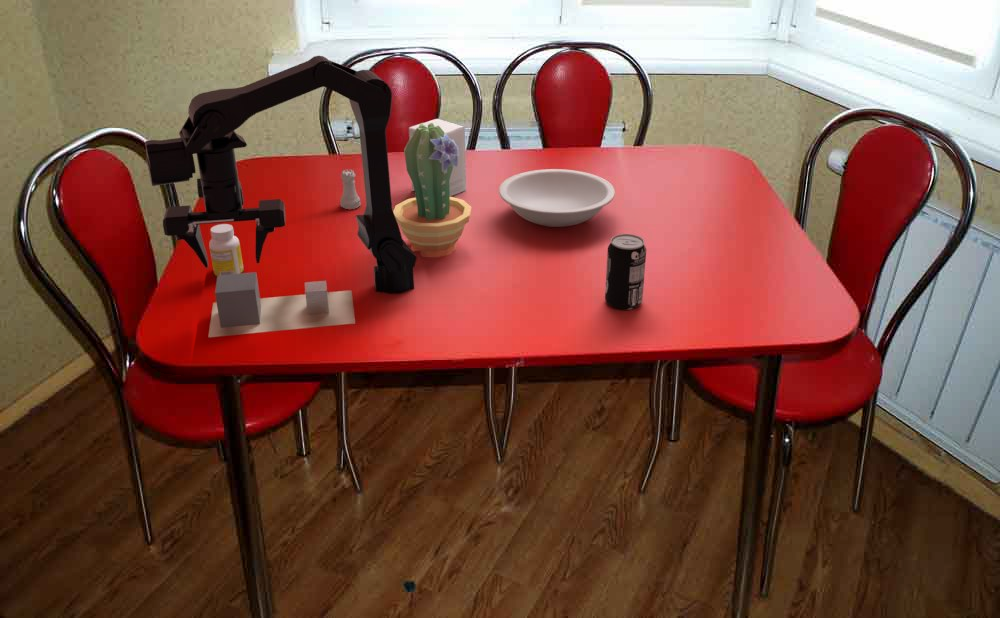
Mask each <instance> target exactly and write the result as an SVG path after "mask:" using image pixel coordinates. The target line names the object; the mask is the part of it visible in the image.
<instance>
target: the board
mask: <svg viewBox="0 0 1000 618" xmlns="http://www.w3.org/2000/svg"><path fill="white" fill-rule="evenodd" d="M327 294H328V304H329V314H318V315H308V312H307V303H306V295H305V293H304V294H294V295H285V296H274V297H263V298H261V297H260V302H261V315H260V324H256V325H245V326H235V327H224V328H221V326H220V320H219V314H218V308H217V302H216V301H215V302H212V309H211V317H210V322H209V329H208V338H216V337H218V338H219V337H226V336H227V337H228V336H237V335H246V334H256V333H257V334H259V333H269V332H279V331H281V332H282V331H288V330H290V331H291V330H298V329H299V330H301V329H311V328H320V327H321V328H322V327H331V326H332V327H333V326H341V325H353V324H354V325H355V324H356V319H355V318H356V317H355V309H354V302H353V300H354V299H353V292H352V290H338V291H329V292H328V291H327Z"/></svg>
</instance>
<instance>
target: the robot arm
mask: <svg viewBox="0 0 1000 618" xmlns="http://www.w3.org/2000/svg"><path fill="white" fill-rule="evenodd" d="M323 87H324V88H326V89H328V90H331V91H333V92H335V93H337V94H339V95H340V96H343V98H347V99H348V100H349V104H350V107H351V110H352V113H353V116H354V117H355V120H356V123H357V126H358V129H359V139H360V149H361V150H360V151H361V160H362V161H361V163H362V171H363V172H362V173H363V174H362V175H363V181H364V182H363V183H364V193H365V206H366V207H365V210H364V211H363V214H356V216H355V217H356V221H357V225H358V229H357V233H356V235H357V236H358V238H359V239H360V241H361V242H362V244H364V247H366V249H367V250H368V251H369V252H370V253H371V254H372V256H373V257H374V259H376V265H374V266H373V278H374V288H375V289H374V290H375V292H377V293H386V294H391V295H399V294H404V293H406V292H409V291H410V290H414V289H415V280H414V279H415V278H414V268H415V265H416V262H417V260H418V257H417V255H416V254H415V253H414V251H412V250H411V248H410V246H409V245H408V244H407V243H406V241H405V240H404V239H403V237H402V233H401V232H402V231H401V228H400V225H399V224H398V223H397V220H396V218H395V215H394V213H393V211H394V209H393V206H392V205H393V204H392V193H391V181H390V178H391V177H390V167H389V154H388V143H387V132H386V131H387V127H388V123H389V121H390V118H391V115H392V114H391V113H392V105H393V104H392V102H393V92H392V90H391V87H390V86H389V85H388V83H387V82H386V81H385V80H383V79H382V78H381V77H380V76H378V75H377V74H376V73H375V72H374V71H371V70H369V69H361V70H356V69H353V68H351V67H348V66H346V65H344V64H340V63H337V62H335V61H333V60H330V59H328V58H327V57H326V56H323V55H315V56H313V57H311V58H309V60H306V61H304V62H302V63H299V64H296V65H294V66H292V67H288V68H287V69H284V70H281V71H279V72H276V73H273V74H272V75H269V76H266V77H264V78H261V79H259V80H256V81H254V82H251V83H249V84H245V85H243V86H241V87H235V88H232V87H231V88H220V89H214V90H211V91H210V90H209V91H206V92H200V93H199V94H197V95H195V96H194V97H192V99H191V100H190V103H189V105H188V117H187V118H186V120H185V122H184V123H183V126H182V127H181V129H180V131H179V132H178V135H179V137H176V138H168V139H161V140H156V139H150V140H149V139H148V140H145V142H144V144H145V145H144V146H145V150H146V151H145V152H146V157H145V160H146V166H147V170H148V174H149V179H150V183H151V186H152V187H155V186H163V185H169V184H170V185H171V184H177V183H178V184H179V183H184V182H185V183H186V182H189V181H191V180H190V179H192V178H193V177H194V176H193V175H195V174H196V165H195V159H194V154H195V155H196V158H197V163H198V164H197V165H198V171H199V176H200V177H199V178H196V183H197V184H196V185H197V187H196V188H197V196H198V198H199V199H203V201H204V208H205V211H195V212H193V208H192V206H191V205H178V206H176V205H175V206H168V207H167V209H166V210H164V211H165V212H164V215H163V219H162V228H163V233H164V235H165V236H167V237H170V236H176V237H177V240H183V241H185V243H187V245H188V246H189V247H190V248H191V249H192V251H194V253H195V254H196V256H197V257H198V258H199V260H200V261H201V263H202V264H203V266H204V268H205V269H207V268H209V258H208V254H207V251H206V247H205V244H204V240H203V236H202V232H201V227H200V225H206V224H224V223H234V222H247V221H255V262H256V264H260V261H261V256H262V252H263V247H264V244H265V241H266V240H267V237H268V234H270V233H274V232H275V228H276V229H277V228H283V227H285V226H286V210H285V209H286V208H285V207H286V206H285V202H284V201H283V200H282V199H280V198H276V199H262V200H261V199H260V200H258V207H253V208H251V207H249V208H248V207H247V208H243V206H244V204H245V201H244V193H243V189H242V184H241V180H239V179H240V178H239V174H238V166H237V159H236V154H235V153H236V152H235V149H241V148H246V147H247V146H248V144H247V142H246V140H245V139H244V137H243V136H242V135H240V134H238V133H237V132H236V131H235V130H237V129H238V128H240V127H242V125H244V124H245V123H246V121H247V120H249V119H250V118H251V117H253V116H255V115H256V114H259V113H261V112H264V111H266V110H268V109H270V108H273V107H276V106H278V105H280V104H283V103H286V102H288V101H290V100H294V99H296V98H298V97H300V96H303V95H305V94H308V93H310V92H314V91H315V90H317V89H320V88H323Z"/></svg>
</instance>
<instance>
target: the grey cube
mask: <svg viewBox="0 0 1000 618" xmlns="http://www.w3.org/2000/svg"><path fill="white" fill-rule="evenodd" d="M327 284H328V283H327V280H318V281H307V282H304V294H305V295H306V303H307V312H308V315H318V314H329V304H328V294H327V292H328V286H327Z"/></svg>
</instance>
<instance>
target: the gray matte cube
mask: <svg viewBox="0 0 1000 618" xmlns="http://www.w3.org/2000/svg"><path fill="white" fill-rule="evenodd" d="M259 288H260V287H259V282H258V276H257V272H255V271H254V272H243V273H241V274H229V275H218V276H216V284H215V290H214V296H215V300H216V301H215V303H216V302H217V308H218V314H219V320H220V326H221V328H224V327H235V326H245V325H256V324H260V315H261V302H260V298H261V296H260V290H259Z"/></svg>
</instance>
